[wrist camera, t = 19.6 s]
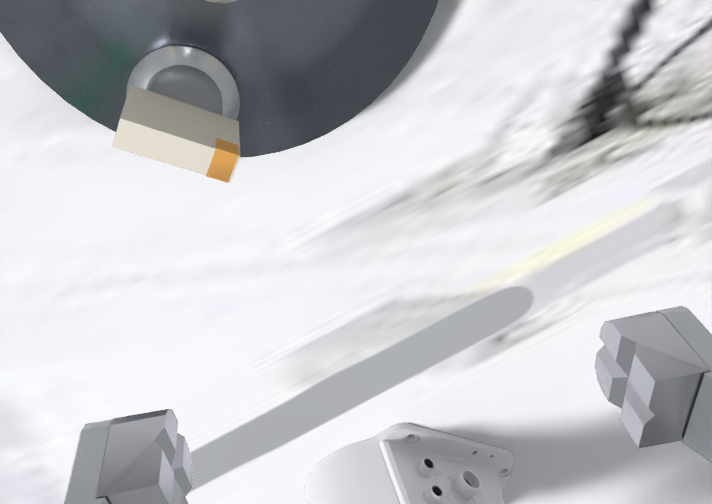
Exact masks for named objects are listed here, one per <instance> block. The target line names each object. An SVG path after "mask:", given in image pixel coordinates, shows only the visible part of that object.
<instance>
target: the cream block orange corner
mask: <svg viewBox="0 0 712 504" xmlns="http://www.w3.org/2000/svg"><path fill="white" fill-rule="evenodd" d="M112 147H115V148H118V149H121V150H125V151H128V152H131V153H135V154H138V155H141V156H144V157H148V158H151V159H154V160H157V161H161V162H164V163H167V164H171V165H174V166H177V167H180V168H184V169H187V170H190V171H194V172H197V173H200V174H203V175H206V176H207V177H210V178H214V179H217V180H220V181H224V182H227V183H228V182H231V180H232V177H233V175H234V172H235V170H236V167H237V164H238V162H239V159H240V137H239V121H236V120H233V119H230V118H227V117H225V116H223V101H222V95H221V92H220V90H219V88H218V86H217V84H216V83H215V82H214V80H213V79H212V78H211V77H210V76H209V75H207V74H206V73H205V72H203V71H201V70H200V69H197V68H195V67H191V66H187V65H174V66H169V67H166V68H164V69H162V70H160V71H159V72H157V73H156V74H155V75H154V76H153V77H152V78H151V79H150V81H149V82H148V84H147V87H146V89H143V88H140V87H137V86H134V85H130V88H129V91H128V95H127V98H126V101H125V104H124V107H123V110H122V114H121V117H120V120H119V124H118V127H117V131H116V135H115V138H114V142H113V146H112Z"/></svg>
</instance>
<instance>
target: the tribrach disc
mask: <svg viewBox="0 0 712 504" xmlns="http://www.w3.org/2000/svg"><path fill="white" fill-rule="evenodd" d="M437 2H438V0H0V32H1V33H2V35H3V36H4V37H5V39H6V40H7V41H8V43H9V44H10V45H11V47H12V48H13V49H14V50H15V52H16V53H17V54H18V56H19V57H20V58H21V59H22V60H23V61H24V62H25V63H26V64H27V65H28V66H29V67H30V68H31V70H32V71H33V72H34V73H35V74H36V75H37V76H38V77H39V78H40V79H41V80H42V81H43V82H44V83H45V84H47V85H48V86H49V87H50V88H51V89H52V90H54V91H55V92H56V93H57V94H58V95H59V96H61V97H62V98H63V99H64V100H65V101H66V102H68V103H69V104H71V105H72V106H74V107H75V108H77V109H78V110H79V111H81V112H82V113H84V114H85V115H87V116H88V117H90V118H91V119H93V120H95V121H96V122H98V123H100V124H102V125H104V126H106V127H108V128H109V129H111V130H113V131H115V132H116V131H117V127H118V124H119V120H120V117H121V114H122V110H123V107H124V104H125V101H126V98H127V95H128V91H129V88H130V85H134V86H137V87H140V88H143V89H146V87H147V84H148V82H149V81H150V79H151V78H152V77H153V76H154V75H155V74H156V73H157V72H159V71H160V70H162V69H164V68H166V67H169V66H174V65H187V66H191V67H195V68H197V69H200V70H201V71H203V72H205V73H206V74H207V75H209V76H210V77H211V78H212V79H213V80H214V82H215V83H216V84H217V86H218V88H219V90H220V92H221V95H222V101H223V116H225V117H227V118H230V119H233V120H236V121H239V137H240V157H253V156H259V155H264V154H270V153H275V152H280V151H283V150H286V149H290V148H293V147H296V146H299V145H302V144H305V143H307V142H310V141H312V140H314V139H316V138H319V137H321V136H323V135H325V134H327V133H329V132H331V131H332V130H334V129H336V128H337V127H339V126H341V125H342V124H344V123H346V122H347V121H349V120H351V119H352V118H353V117H354V116H356V115H357V114H358V113H359V112H361V111H362V110H363V109H365V108H366V107H367V106H368V105H370V104H371V103H372V102H373V101H374V100H375V99H376V98H377V97H378V96H379V95H380V94H381V93H382V92H383V91H384V90H385V89H386V88H387V87H388V86H389V85H390V84H391V83H392V81H393V80H394V79H395V78H396V76H397V75H398V74H399V72H400V71H401V70H402V69H403V67H404V66H405V65H406V64H407V62H408V60H409V59H410V57H411V56H412V54H413V52H414V51H415V49H416V47H417V46H418V44H419V43H420V41H421V39H422V37H423V35H424V33H425V31H426V29H427V27H428V24H429V22H430V20H431V18H432V16H433V14H434V11H435V8H436V5H437Z"/></svg>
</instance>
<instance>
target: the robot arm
mask: <svg viewBox="0 0 712 504" xmlns="http://www.w3.org/2000/svg"><path fill="white" fill-rule="evenodd" d="M599 337H600V338H601V340H602V341H603V343H604V344H605V345H604V346H603V347H602V348H601V349H600V350H599V351H598V352H597V354H596V362H595V368H596V374H597V380H598V382H599V385H600V387H601V389H602V391H603V393H604V395H605V396H606V398H607V400H608V401H609V402H611V403H613V404H615V405H616V406H618V407H620V408H622V411H621V417H620V420H621V422H622V424H623V425H624V427H625V428H626V430H627V431H628V433H629V435H630V436H631V438H632V439H633V441H634V442H635V444H636V446H637V447H638V448H642V447H648V446H653V445H659V444H664V443H669V442H675V441H680V440H683V442H682V443H684V444H685V445H687V446H688V447H690V448H691V449H693V450H694V451H696V452H697V453H699V454H700V455H702V456H703V457H704V458H706V459H707V460H709V461H710V462H712V334H711V333H710V332H709V331H708V330H707V329H706V328H705V327H704V326H703V324H702V323H701V322H700V321H699V320H698V319H697V318H696V317H695V316H694V315H693V313H692V312H691V311H690V310H689V309H688V308H686V307H683V306H678V307H673V308H669V309H664V310H659V311H656V312H648V313H643V314H639V315H634V316H629V317H624V318H620V319H615V320H610V321H605V322H604V324H603V325H602V327H601V331H600V336H599ZM177 425H178V421H177V418H176V416H175V414H174V412H173V410H172V409H166V410H160V411H155V412H149V413H143V414H137V415H132V416H126V417H120V418H114V419H111V420H105V421H100V422H94V423H88V424H85V426H84V428H83V429H82V431H81V432H80V436H79V440H78V445H77V449H76V453H75V458H74V462H73V466H72V471H71V475H70V479H69V484H68V488H67V492H66V496H65V501H64V504H188V502H187V500H186V498H185V497H186V495H187V494H188V492H189V491H190V490H191V488H192V464H191V455H190V451H189V447H188V444H187V442H186V439H185V437H184V436H182V435H180V434H178V433H177ZM410 434H414V435H412V436H409V437H408V435H410ZM513 467H514V459H513V455H512V452H511V451H509V450H506V449H502V448H499V447H495V446H491V445H488V444H484V443H480V442H476V441H472V440H469V439H465V438H461V437H457V436H454V435H450V434H446V433H442V432H438V431H435V430H431V429H427V428H423V427H419V426H416V425H412V424H408V423H398V424H395V425H393V426H391V427H389V428H387V429H386V430H384V431H382V432H381V433H379V434H378V435H376V436H374V437H372V438H369V439H366V440H363V441H360V442H356V443H353V444H351V445H348V446H345V447H343V448H341V449H339V450H337V451H335V452H333V453H332V454H330V455H328V456H327V457H325V458H324V459H323V460H321V461H320V462H319V463H318V464H317V465H316V466H315V467H314V468H313V469H312V471H311V472H310V473H309V475H308V477H307V479H306V481H305V484H304V498H305V500H306V502H307V504H504V499H503V493H502V492H503V490H504V489H505V487H506V485H507V484H508V482H509V480H510V477H511V475H512V472H513ZM503 469H505V470H503Z"/></svg>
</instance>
